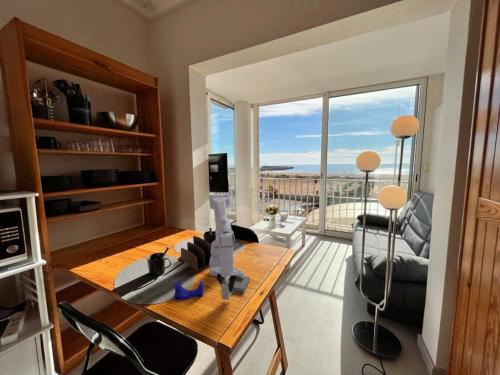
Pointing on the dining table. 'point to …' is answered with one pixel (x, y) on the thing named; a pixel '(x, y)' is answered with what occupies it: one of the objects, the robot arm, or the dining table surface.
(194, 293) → the blue concave cradle block
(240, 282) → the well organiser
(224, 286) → the long block
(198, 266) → the letter holder
